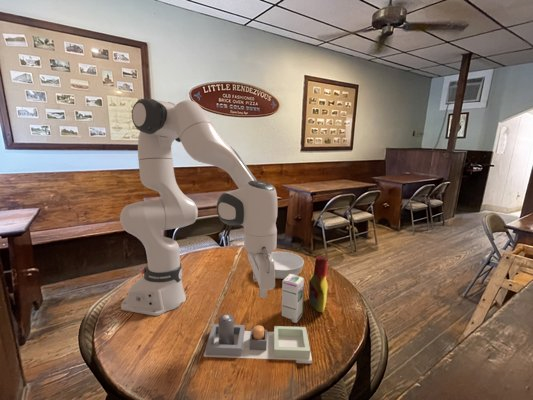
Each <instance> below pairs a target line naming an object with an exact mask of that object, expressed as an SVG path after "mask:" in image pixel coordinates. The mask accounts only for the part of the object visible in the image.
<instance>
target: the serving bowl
mask: <svg viewBox="0 0 533 400" xmlns="http://www.w3.org/2000/svg"><path fill="white" fill-rule="evenodd" d="M271 256H272V258H273V260H274V265H275V279H280V280H281V279H283V280H284V279H285V278H286V277H287V276H288V275H289V274H294V275H299V274H300V273H301V271H302V270H303V267H304V264H305V259H304V258H303V257H302V256H300V255H298V254H296V253H292V252H289V251H272V254H271Z"/></svg>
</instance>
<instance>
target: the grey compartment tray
mask: <svg viewBox="0 0 533 400" xmlns="http://www.w3.org/2000/svg"><path fill="white" fill-rule="evenodd" d="M245 326H246V325H245V324H234V344H233V345H221V344H219V323H213V324H212V327H211V329H210V333H209V335H208V339H207V342H206V345H205V351H204V352H203V357H205V358H229V359H230V358H231V359H252V360H253V359H254V360H256V359H257V360H283V361H284V360H287V361H295V363H296V364H308V365H309V364H310V365H311V364H312V363H313V357H312V353H311V346H310V342H309V336H308V331H307V327H306V326H282V325H274V326H273V328H274V329H273V331H268V329H264V340H254V339H253V329H252V328H251V329H250V330H245Z"/></svg>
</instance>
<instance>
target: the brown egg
mask: <svg viewBox="0 0 533 400" xmlns="http://www.w3.org/2000/svg"><path fill="white" fill-rule="evenodd" d="M264 330H265V328H264V326H263V325H260V324H259V325H255V326H254V327H253V339H254V340H264Z"/></svg>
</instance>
